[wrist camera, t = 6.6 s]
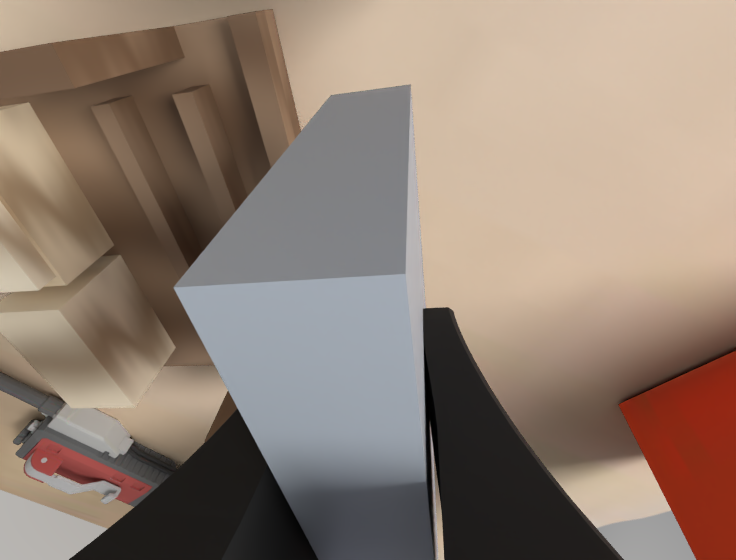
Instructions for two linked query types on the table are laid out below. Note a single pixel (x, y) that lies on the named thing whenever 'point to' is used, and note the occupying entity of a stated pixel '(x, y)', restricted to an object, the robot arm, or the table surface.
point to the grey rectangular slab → (331, 329)
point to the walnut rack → (163, 141)
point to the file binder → (694, 452)
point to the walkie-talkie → (85, 450)
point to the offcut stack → (68, 279)
